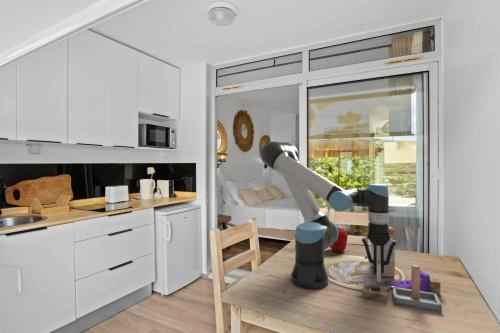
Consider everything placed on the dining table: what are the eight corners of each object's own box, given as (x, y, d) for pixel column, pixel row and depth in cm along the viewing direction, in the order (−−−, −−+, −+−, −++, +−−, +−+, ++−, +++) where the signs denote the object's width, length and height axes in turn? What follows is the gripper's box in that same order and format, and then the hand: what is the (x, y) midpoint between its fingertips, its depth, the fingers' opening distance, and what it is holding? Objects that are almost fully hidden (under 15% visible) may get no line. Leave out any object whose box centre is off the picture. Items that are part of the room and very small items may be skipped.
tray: (393, 303, 99) (394, 297, 99) (392, 293, 107) (392, 286, 107) (441, 312, 93) (441, 305, 93) (436, 300, 101) (436, 293, 101)
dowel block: (363, 298, 103) (363, 291, 103) (363, 289, 110) (363, 282, 110) (387, 302, 100) (387, 295, 99) (386, 293, 107) (386, 286, 107)
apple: (324, 248, 162) (324, 225, 161) (341, 247, 163) (341, 224, 163) (333, 254, 151) (333, 229, 151) (351, 253, 153) (351, 228, 153)
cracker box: (395, 277, 121) (396, 229, 121) (381, 277, 122) (381, 228, 121) (383, 265, 135) (383, 222, 135) (370, 265, 136) (370, 221, 135)
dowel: (411, 300, 99) (412, 266, 99) (410, 297, 102) (410, 264, 101) (420, 302, 98) (420, 267, 98) (419, 298, 101) (419, 265, 100)
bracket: (417, 285, 114) (417, 268, 114) (429, 293, 107) (429, 275, 107) (389, 287, 113) (389, 270, 113) (400, 295, 106) (400, 277, 106)
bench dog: (430, 294, 105) (430, 281, 105) (428, 290, 109) (429, 277, 109) (440, 296, 104) (440, 282, 104) (438, 291, 108) (438, 278, 108)
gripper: (360, 223, 113) (361, 281, 113) (397, 225, 108) (397, 287, 108) (361, 219, 120) (361, 274, 120) (395, 221, 115) (396, 279, 115)
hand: (378, 280), depth 114 cm, fingers closed
